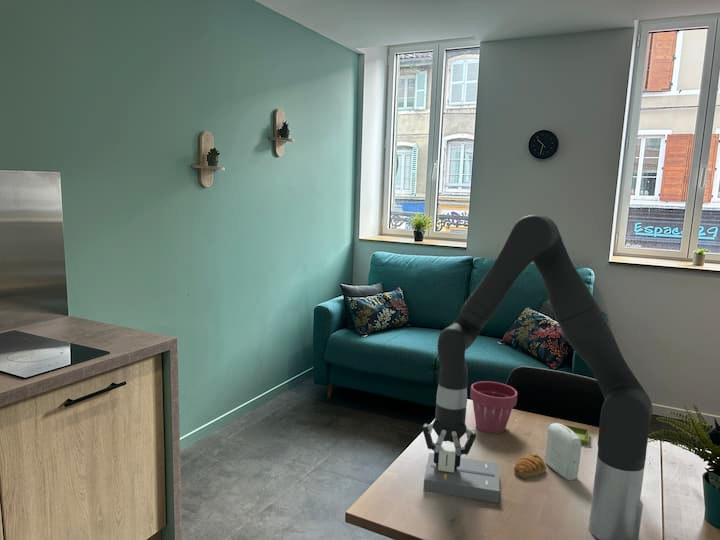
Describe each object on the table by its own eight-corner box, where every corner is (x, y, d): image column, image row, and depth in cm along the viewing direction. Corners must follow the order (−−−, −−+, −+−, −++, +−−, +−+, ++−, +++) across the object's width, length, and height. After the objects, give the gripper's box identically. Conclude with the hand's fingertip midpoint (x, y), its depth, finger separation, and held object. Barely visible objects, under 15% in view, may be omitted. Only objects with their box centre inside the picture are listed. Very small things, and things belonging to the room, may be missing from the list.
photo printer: (580, 479, 140) (585, 435, 138) (566, 481, 139) (571, 436, 137) (555, 460, 150) (559, 418, 148) (542, 461, 148) (546, 419, 147)
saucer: (588, 447, 159) (589, 440, 159) (557, 440, 163) (558, 434, 162) (588, 435, 167) (589, 429, 167) (559, 429, 171) (559, 423, 170)
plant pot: (521, 428, 170) (525, 389, 168) (500, 442, 159) (504, 401, 157) (481, 414, 179) (484, 377, 177) (459, 426, 169) (462, 387, 167)
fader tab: (454, 463, 138) (456, 444, 138) (453, 472, 134) (455, 454, 133) (439, 460, 139) (440, 442, 138) (437, 470, 134) (439, 451, 134)
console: (496, 473, 141) (497, 462, 140) (498, 502, 127) (499, 490, 127) (428, 463, 145) (429, 452, 144) (423, 490, 131) (424, 478, 131)
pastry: (530, 483, 137) (531, 469, 137) (506, 473, 142) (508, 459, 142) (547, 471, 144) (548, 458, 143) (524, 461, 149) (525, 449, 148)
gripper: (421, 404, 132) (417, 469, 134) (480, 411, 129) (474, 477, 131) (424, 393, 139) (420, 455, 141) (480, 400, 136) (475, 463, 139)
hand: (446, 465), depth 136 cm, fingers closed on fader tab, 4 cm apart
